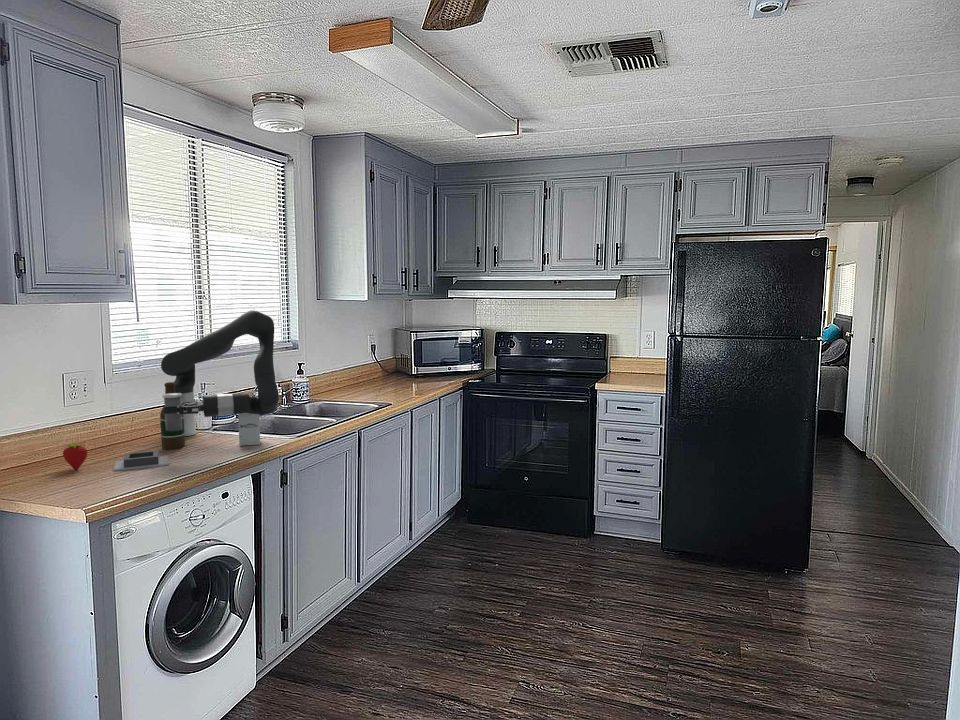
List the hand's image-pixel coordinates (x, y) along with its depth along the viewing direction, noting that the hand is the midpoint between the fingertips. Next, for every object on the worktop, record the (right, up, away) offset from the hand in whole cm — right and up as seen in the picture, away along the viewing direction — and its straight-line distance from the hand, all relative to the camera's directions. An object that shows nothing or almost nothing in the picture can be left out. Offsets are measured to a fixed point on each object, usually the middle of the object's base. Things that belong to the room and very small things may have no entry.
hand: (164, 409), depth 226 cm
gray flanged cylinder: (+2, -7, +2) cm, 8 cm away
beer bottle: (-7, -16, +23) cm, 29 cm away
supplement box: (+19, -15, +28) cm, 37 cm away
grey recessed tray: (-7, -18, -2) cm, 19 cm away
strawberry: (-25, -19, -7) cm, 32 cm away
